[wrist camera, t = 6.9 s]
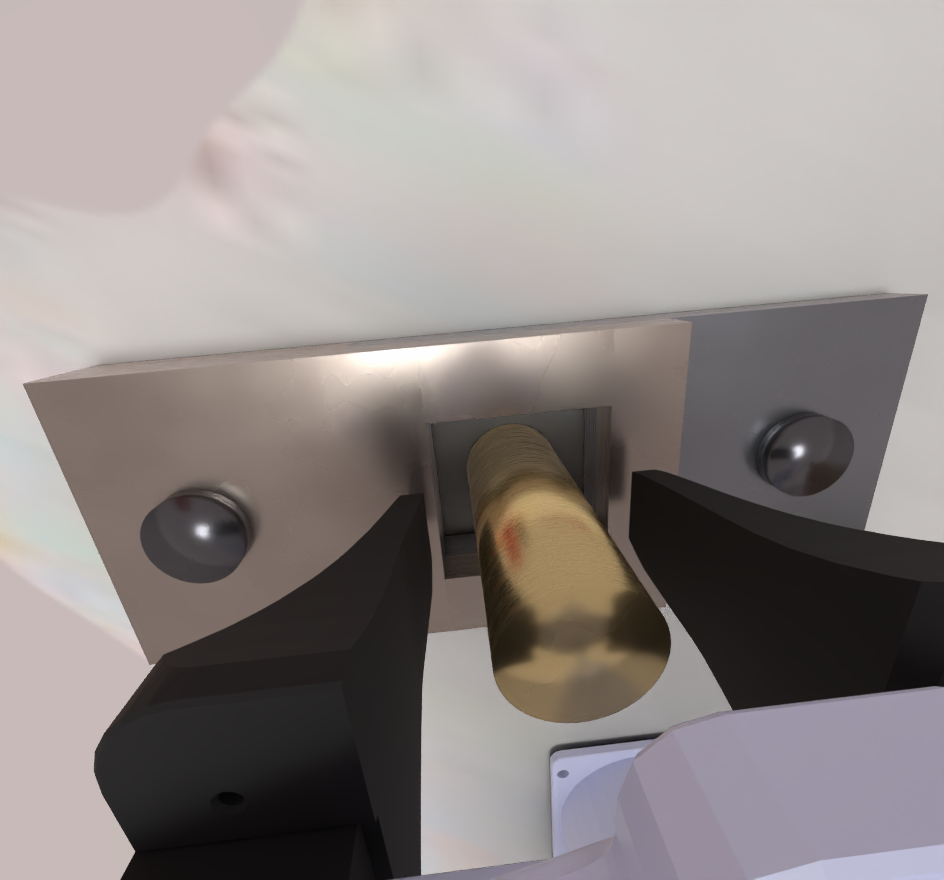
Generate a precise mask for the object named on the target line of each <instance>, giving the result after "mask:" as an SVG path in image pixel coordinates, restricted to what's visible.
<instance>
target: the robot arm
mask: <svg viewBox="0 0 944 880" xmlns="http://www.w3.org/2000/svg"><path fill="white" fill-rule="evenodd" d="M629 540H630V542H631V544H632V546H633V549H634V551H635V553H636V555H637V557H638V559H639V561H640V563H641V565H642V567H643V568H644V570H645V572H646V573H647V575H648V576H649V578H650V579H651V581H652V582H653V583H654V585H655V586H656V588H657V589H658V591H659V592H660V594H661V595H662V597H663V598H664V599H665V601H666V602H667V604H668V605H669V607H670V608H671V609H672V611H673V612H674V614H675V615H676V617H677V618H678V619H679V621H680V622H681V624H682V625H683V627H684V628H685V629H686V631H687V632H688V634H689V635H690V637H691V638H692V640H693V641H694V643H695V644H696V646H697V647H698V649H699V651H700V652H701V654H702V655H703V657H704V659H705V660H706V662H707V664H708V666H709V668H710V669H711V671H712V673H713V675H714V677H715V678H716V680H717V682H718V684H719V686H720V687H721V689H722V691H723V693H724V695H725V697H726V698H727V700H728V702H729V704H730V706H731V708H732V710H733V711H725V712H718V713H714V714H711V715H708V716H705V717H701V718H698V719H695V720H692V721H688V722H685V723H682V724H678V725H675V726H672V727H671V728H669V729H668V730H667V731H665V732H664V733H663V734H662V735H660V736H659V737H658V738H656V739H651V740H642V741H634V742H626V743H618V744H609V745H601V746H593V747H585V748H577V749H568V750H560V751H557V752H555V753H553V755H552V756H551V758H550V778H551V813H552V848H553V858H550V859H545V860H537V861H530V862H522V863H514V864H506V865H499V866H491V867H483V868H476V869H468V870H460V871H452V872H445V873H437V874H429V875H421V718H422V683H423V670H424V661H425V653H426V644H427V636H428V627H429V619H430V610H431V601H432V554H431V547H430V540H429V532H428V525H427V518H426V510H425V503H424V495H423V493H419V494H409V495H400V496H399V497H398V498H397V499H396V500H395V501H394V503H393V504H392V505H391V506H390V507H389V508H388V509H387V511H386V512H385V513H384V514H383V515H382V516H381V517H380V519H379V520H378V521H377V522H376V523H375V524H374V525H373V526H372V527H371V528H370V529H369V530H368V532H366V533H365V534H364V535H363V536H362V537H361V538H360V539H359V540H358V541H357V542H356V543H355V544H354V545H353V546H352V547H351V548H350V549H349V550H348V551H347V552H345V553H344V554H343V555H342V556H341V557H340V558H338V559H337V560H336V561H335V562H334V563H332V564H331V565H330V566H328V567H327V568H326V569H324V570H323V571H322V572H320V573H319V574H318V575H316V576H315V577H314V578H312V579H311V580H309V581H308V582H306V583H304V584H303V585H301V586H300V587H298V588H297V589H295V590H294V591H292V592H290V593H289V594H287V595H286V596H284V597H283V598H281V599H279V600H278V601H276V602H274V603H272V604H271V605H269V606H267V607H265V608H263V609H262V610H260V611H258V612H256V613H254V614H252V615H250V616H248V617H246V618H244V619H242V620H241V621H239V622H237V623H235V624H233V625H230V626H228V627H226V628H224V629H222V630H220V631H217V632H215V633H213V634H211V635H208V636H206V637H204V638H201V639H199V640H197V641H194V642H192V643H190V644H187V645H185V646H183V647H180V648H178V649H176V650H173V651H171V652H168V653H166V654H164V655H163V656H162V657H161V658H160V660H159V661H158V662H157V663H156V665H155V666H154V667H153V669H152V670H151V671H150V673H149V674H148V675H147V677H146V678H145V679H144V681H143V682H142V684H141V685H140V686H139V688H138V689H137V690H136V692H135V693H134V694H133V696H132V697H131V698H130V700H129V701H128V702H127V704H126V705H125V706H124V708H123V709H122V710H121V712H120V713H119V714H118V716H117V717H116V718H115V720H114V721H113V722H112V724H111V725H110V727H109V728H108V729H107V730H106V732H105V733H104V735H103V737H102V739H101V741H100V743H99V744H98V747H97V748H96V751H95V760H94V773H95V776H96V779H97V781H98V784H99V787H100V790H101V792H102V795H103V797H104V798H105V800H106V802H107V804H108V805H109V807H110V808H111V810H112V812H113V814H114V816H115V817H116V819H117V821H118V822H119V824H120V826H121V828H122V829H123V831H124V833H125V835H126V836H127V838H128V840H129V841H130V843H131V845H132V847H133V848H134V850H135V854H134V856H133V858H132V859H131V861H130V863H129V865H128V867H127V868H126V870H125V872H124V874H123V876H122V878H121V880H944V543H941V542H933V541H925V540H917V539H911V538H904V537H898V536H891V535H885V534H880V533H875V532H869V531H864V530H859V529H853V528H848V527H843V526H838V525H834V524H829V523H825V522H821V521H817V520H813V519H809V518H805V517H801V516H797V515H793V514H789V513H786V512H782V511H778V510H775V509H772V508H769V507H765V506H762V505H759V504H756V503H753V502H750V501H747V500H744V499H741V498H738V497H735V496H732V495H729V494H726V493H723V492H721V491H718V490H715V489H712V488H710V487H707V486H704V485H702V484H699V483H696V482H693V481H691V480H688V479H685V478H682V477H680V476H677V475H674V474H671V473H667V472H664V471H660V470H656V469H653V470H643V471H633V472H632V479H631V499H630V519H629Z"/></svg>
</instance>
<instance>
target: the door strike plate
mask: <svg viewBox="0 0 944 880" xmlns="http://www.w3.org/2000/svg"><path fill="white" fill-rule="evenodd" d="M927 296H928V294H897V293H884V294H873V295H862V296H852V297H841V298H830V299H819V300H808V301H797V302H786V303H775V304H764V305H753V306H742V307H731V308H720V309H709V310H698V311H687V312H676V313H665V314H654V315H643V316H633V317H622V318H611V319H600V320H589V321H578V322H567V323H556V324H545V325H534V326H523V327H512V328H501V329H490V330H479V331H468V332H457V333H446V334H435V335H424V336H414V337H403V338H392V339H381V340H370V341H359V342H348V343H337V344H326V345H315V346H304V347H293V348H282V349H271V350H260V351H249V352H238V353H227V354H216V355H206V356H195V357H184V358H173V359H162V360H151V361H140V362H129V363H118V364H107V365H96V366H92V367H88V368H84V369H80V370H76V371H72V372H68V373H64V374H60V375H56V376H52V377H48V378H44V379H40V380H36V381H32V382H28V383H24V384H23V385H24V388H25V390H26V392H27V394H28V397H29V399H30V401H31V403H32V405H33V408H34V410H35V412H36V414H37V417H38V419H39V421H40V423H41V425H42V428H43V430H44V432H45V434H46V436H47V439H48V441H49V443H50V445H51V448H52V450H53V452H54V454H55V456H56V459H57V461H58V463H59V465H60V467H61V470H62V472H63V474H64V476H65V479H66V481H67V483H68V485H69V487H70V490H71V492H72V494H73V496H74V498H75V501H76V503H77V505H78V507H79V510H80V512H81V514H82V516H83V518H84V521H85V523H86V525H87V527H88V530H89V532H90V534H91V536H92V538H93V541H94V543H95V545H96V547H97V549H98V552H99V554H100V556H101V558H102V561H103V563H104V565H105V567H106V569H107V572H108V574H109V576H110V578H111V580H112V583H113V585H114V587H115V589H116V592H117V594H118V596H119V598H120V600H121V603H122V605H123V607H124V609H125V612H126V614H127V616H128V618H129V620H130V623H131V625H132V627H133V629H134V631H135V634H136V636H137V638H138V640H139V643H140V645H141V647H142V649H143V651H144V654H145V656H146V658H147V660H148V662H149V664H150V665H151V664H156V663H157V662H158V661H159V660H160V658H161V657H162V656H163V655H164V654H166V653H168V652H171V651H173V650H176V649H178V648H180V647H183V646H185V645H187V644H190V643H192V642H194V641H197V640H199V639H201V638H204V637H206V636H208V635H211V634H213V633H215V632H217V631H220V630H222V629H224V628H226V627H228V626H230V625H233V624H235V623H237V622H239V621H241V620H242V619H244V618H246V617H248V616H250V615H252V614H254V613H256V612H258V611H260V610H262V609H263V608H265V607H267V606H269V605H271V604H272V603H274V602H276V601H278V600H279V599H281V598H283V597H284V596H286V595H287V594H289V593H290V592H292V591H294V590H295V589H297V588H298V587H300V586H301V585H303V584H304V583H306V582H308V581H309V580H311V579H312V578H314V577H315V576H316V575H318V574H319V573H320V572H322V571H323V570H324V569H326V568H327V567H328V566H330V565H331V564H332V563H334V562H335V561H336V560H337V559H338V558H340V557H341V556H342V555H343V554H344V553H345V552H347V551H348V550H349V549H350V548H351V547H352V546H353V545H354V544H355V543H356V542H357V541H358V540H359V539H360V538H361V537H362V536H363V535H364V534H365V533H366V532H368V530H369V529H370V528H371V527H372V526H373V525H374V524H375V523H376V522H377V521H378V520H379V519H380V517H381V516H382V515H383V514H384V513H385V512H386V511H387V509H388V508H389V507H390V506H391V505H392V504H393V503H394V501H395V500H396V499H397V498H398V497H399V496H400V495H409V494H419V493H423V495H424V503H425V510H426V518H427V525H428V532H429V540H430V547H431V554H432V601H431V610H430V619H429V627H428V633H436V632H445V631H454V630H463V629H472V628H481V627H487V621H486V613H485V605H484V598H483V590H482V582H481V575H480V567H479V559H478V552H477V544H476V536H475V533H468V534H459V535H449V536H445V535H444V527H443V519H442V510H441V502H440V494H439V486H438V477H437V469H436V461H435V453H434V444H433V436H432V428H431V423H439V422H450V421H460V420H470V419H480V418H491V417H501V416H511V415H521V414H532V413H542V412H552V411H562V410H573V409H583V408H584V496H585V498H586V499H587V501H588V502H589V504H590V506H591V507H592V509H593V510H594V512H595V513H596V515H597V516H598V518H599V519H600V521H601V522H602V524H603V525H604V527H605V528H606V530H607V531H608V533H609V534H610V536H611V537H612V539H613V540H614V542H615V543H616V545H617V546H618V548H619V550H620V551H621V553H622V554H623V556H624V557H625V559H626V560H627V562H628V563H629V565H630V566H631V568H632V569H633V571H634V572H635V574H636V575H637V577H638V578H639V580H640V581H641V583H642V584H643V586H644V587H645V589H646V591H647V592H648V594H649V595H650V597H651V598H652V600H653V601H654V603H655V604H656V606H657V607H666V601H665V599H664V598H663V597H662V595H661V594H660V592H659V591H658V589H657V588H656V586H655V585H654V583H653V582H652V581H651V579H650V578H649V576H648V575H647V573H646V572H645V570H644V568H643V567H642V565H641V563H640V561H639V559H638V557H637V555H636V553H635V551H634V549H633V546H632V544H631V542H630V540H629V519H630V499H631V479H632V472H633V471H643V470H653V469H656V470H660V471H664V472H667V473H671V474H674V475H677V476H680V477H682V478H685V479H688V480H691V481H693V482H696V483H699V484H702V485H704V486H707V487H710V488H712V489H715V490H718V491H721V492H723V493H726V494H729V495H732V496H735V497H738V498H741V499H744V500H747V501H750V502H753V503H756V504H759V505H762V506H765V507H769V508H772V509H775V510H778V511H782V512H786V513H789V514H793V515H797V516H801V517H805V518H809V519H813V520H817V521H821V522H825V523H829V524H834V525H838V526H843V527H848V528H853V529H859V530H864V529H865V525H866V522H867V518H868V514H869V511H870V507H871V503H872V499H873V496H874V492H875V488H876V485H877V481H878V477H879V474H880V470H881V466H882V462H883V459H884V455H885V451H886V448H887V444H888V440H889V436H890V433H891V429H892V425H893V422H894V418H895V414H896V411H897V407H898V403H899V399H900V396H901V392H902V388H903V385H904V381H905V377H906V374H907V370H908V366H909V362H910V359H911V355H912V351H913V348H914V344H915V340H916V336H917V333H918V329H919V325H920V322H921V318H922V314H923V311H924V307H925V303H926V299H927Z"/></svg>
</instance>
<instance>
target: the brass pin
mask: <svg viewBox="0 0 944 880" xmlns="http://www.w3.org/2000/svg"><path fill="white" fill-rule="evenodd" d="M467 475H468V483H469V490H470V498H471V506H472V513H473V521H474V529H475V536H476V544H477V552H478V559H479V567H480V575H481V582H482V590H483V598H484V605H485V613H486V621H487V628H488V636H489V644H490V651H491V659H492V667H493V674H494V677H495V681H496V684H497V686H498V688H499V690H500V691H501V693H502V694H503V696H504V697H505V698H506V699H507V700H508V701H509V702H510V703H511V704H512V705H513V706H514V707H516V708H517V709H519V710H520V711H522V712H524V713H525V714H528V715H530V716H532V717H535V718H538V719H541V720H545V721H550V722H558V723H578V722H587V721H591V720H596V719H600V718H603V717H606V716H609V715H612V714H614V713H616V712H619V711H621V710H623V709H624V708H626V707H628V706H630V705H631V704H633V703H634V702H636V701H637V700H639V699H640V698H641V697H642V696H643V695H645V694H646V693H647V692H648V691H649V690H650V689H651V688H652V687H653V685H654V684H655V683H656V682H657V680H658V679H659V678H660V676H661V674H662V673H663V671H664V669H665V667H666V664H667V662H668V658H669V655H670V648H671V637H670V631H669V627H668V625H667V622H666V620H665V618H664V616H663V615H662V613H661V612H660V610H659V609H658V607H657V606H656V604H655V603H654V601H653V600H652V598H651V597H650V595H649V594H648V592H647V591H646V589H645V587H644V586H643V584H642V583H641V581H640V580H639V578H638V577H637V575H636V574H635V572H634V571H633V569H632V568H631V566H630V565H629V563H628V562H627V560H626V559H625V557H624V556H623V554H622V553H621V551H620V550H619V548H618V546H617V545H616V543H615V542H614V540H613V539H612V537H611V536H610V534H609V533H608V531H607V530H606V528H605V527H604V525H603V524H602V522H601V521H600V519H599V518H598V516H597V515H596V513H595V512H594V510H593V509H592V507H591V506H590V504H589V502H588V501H587V499H586V498H585V496H584V495H583V493H582V492H581V490H580V489H579V487H578V486H577V484H576V483H575V481H574V480H573V478H572V477H571V475H570V474H569V472H568V471H567V469H566V468H565V466H564V465H563V463H562V461H561V460H560V458H559V457H558V455H557V454H556V452H555V451H554V449H553V448H552V446H551V445H550V443H549V442H548V440H547V439H546V438H545V437H544V436H543V435H542V434H541V433H540V432H538V431H537V430H535V429H533V428H531V427H528V426H525V425H520V424H506V425H502V426H498V427H495V428H493V429H491V430H489V431H488V432H486V433H485V434H483V435H482V436H481V437H480V438H479V439H478V440H477V441H476V442H475V444H474V445H473V447H472V449H471V451H470V453H469V456H468V460H467Z"/></svg>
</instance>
